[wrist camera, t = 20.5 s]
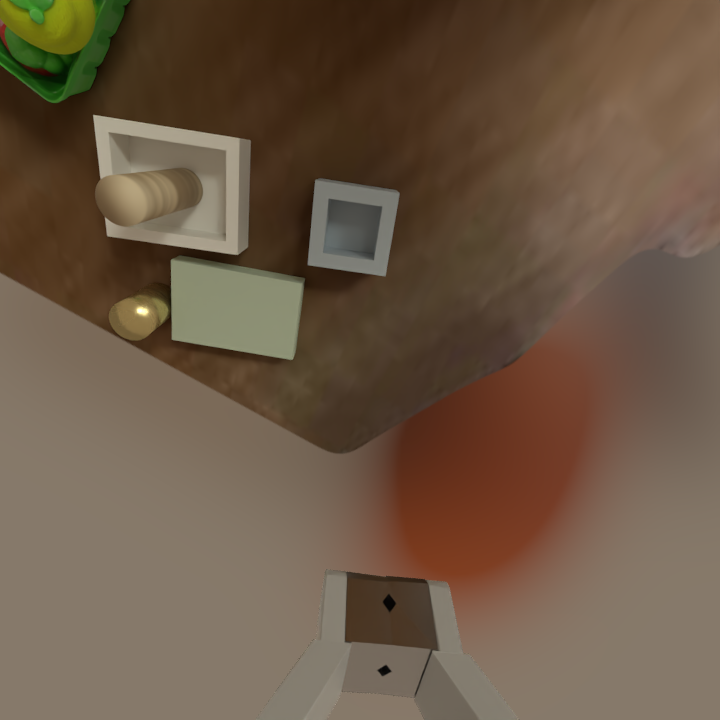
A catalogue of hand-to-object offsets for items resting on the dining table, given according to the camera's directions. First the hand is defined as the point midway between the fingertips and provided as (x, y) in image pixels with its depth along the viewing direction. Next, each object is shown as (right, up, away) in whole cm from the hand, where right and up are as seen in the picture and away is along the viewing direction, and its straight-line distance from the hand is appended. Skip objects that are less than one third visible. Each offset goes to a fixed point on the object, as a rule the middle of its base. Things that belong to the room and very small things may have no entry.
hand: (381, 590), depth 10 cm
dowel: (-16, +21, +26) cm, 37 cm away
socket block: (-1, +18, +28) cm, 33 cm away
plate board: (-13, +11, +32) cm, 36 cm away
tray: (-16, +21, +27) cm, 37 cm away
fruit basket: (-21, +32, +22) cm, 44 cm away
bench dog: (-20, +12, +31) cm, 39 cm away
